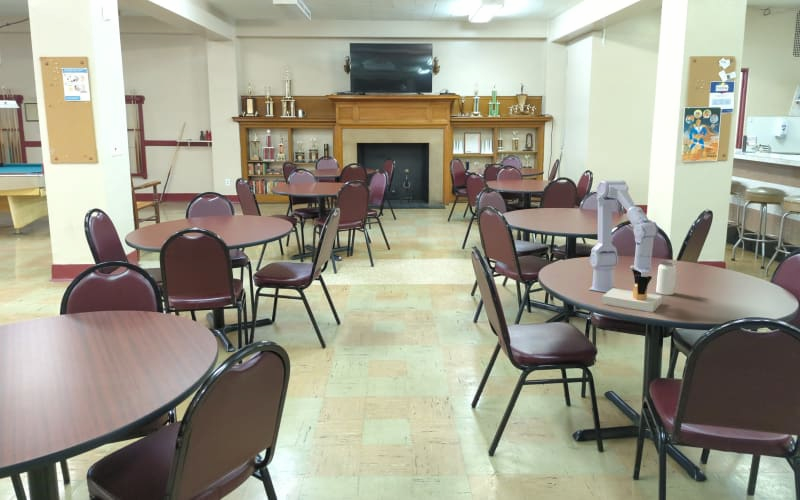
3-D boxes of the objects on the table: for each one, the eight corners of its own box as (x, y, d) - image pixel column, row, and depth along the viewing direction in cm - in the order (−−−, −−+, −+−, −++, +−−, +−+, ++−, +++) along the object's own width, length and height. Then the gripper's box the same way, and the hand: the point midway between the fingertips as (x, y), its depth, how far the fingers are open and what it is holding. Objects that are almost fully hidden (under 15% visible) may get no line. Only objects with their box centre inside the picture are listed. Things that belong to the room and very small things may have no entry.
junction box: (612, 295, 246) (613, 280, 244) (661, 303, 236) (662, 287, 235) (601, 303, 234) (603, 288, 233) (652, 312, 224) (654, 296, 223)
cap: (640, 296, 234) (641, 283, 233) (649, 299, 230) (650, 286, 229) (630, 297, 232) (631, 284, 231) (638, 300, 228) (640, 287, 227)
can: (672, 291, 252) (675, 262, 249) (674, 296, 246) (677, 266, 243) (655, 290, 254) (658, 261, 251) (656, 294, 248) (659, 264, 245)
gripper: (629, 250, 236) (626, 285, 238) (634, 258, 222) (630, 295, 225) (649, 251, 234) (646, 287, 237) (655, 259, 220) (651, 297, 223)
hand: (639, 291), depth 231 cm, fingers open, 7 cm apart
